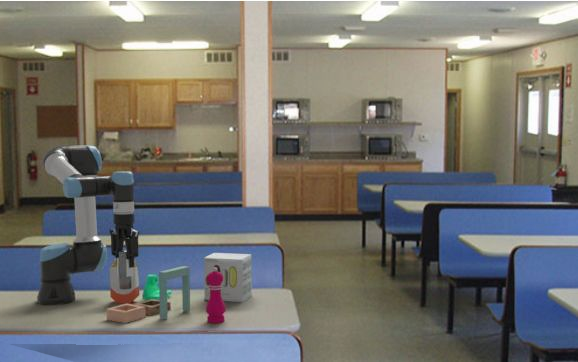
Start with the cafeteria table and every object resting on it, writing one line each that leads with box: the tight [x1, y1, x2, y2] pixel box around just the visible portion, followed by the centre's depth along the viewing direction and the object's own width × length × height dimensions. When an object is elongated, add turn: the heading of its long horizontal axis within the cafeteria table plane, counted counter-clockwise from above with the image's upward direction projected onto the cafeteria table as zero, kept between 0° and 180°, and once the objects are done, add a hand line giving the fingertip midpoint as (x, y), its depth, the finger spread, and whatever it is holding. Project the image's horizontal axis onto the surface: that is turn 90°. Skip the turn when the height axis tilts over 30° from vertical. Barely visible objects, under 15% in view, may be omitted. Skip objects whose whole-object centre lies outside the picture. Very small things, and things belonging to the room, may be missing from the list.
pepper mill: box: [205, 267, 227, 324], centre depth 247 cm, size 7×7×20 cm
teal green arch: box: [158, 265, 191, 320], centre depth 256 cm, size 3×14×17 cm, turn 146°
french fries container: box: [109, 258, 140, 304], centre depth 278 cm, size 5×11×18 cm, turn 82°
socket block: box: [133, 299, 172, 316], centre depth 263 cm, size 10×10×3 cm
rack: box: [106, 303, 147, 324], centre depth 252 cm, size 10×10×4 cm
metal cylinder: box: [119, 249, 132, 290], centre depth 251 cm, size 4×4×14 cm
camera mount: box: [142, 274, 172, 301], centre depth 283 cm, size 12×8×10 cm, turn 164°
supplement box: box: [203, 252, 253, 303], centre depth 283 cm, size 17×13×18 cm
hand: (125, 275), depth 251 cm, fingers closed on metal cylinder, 4 cm apart
